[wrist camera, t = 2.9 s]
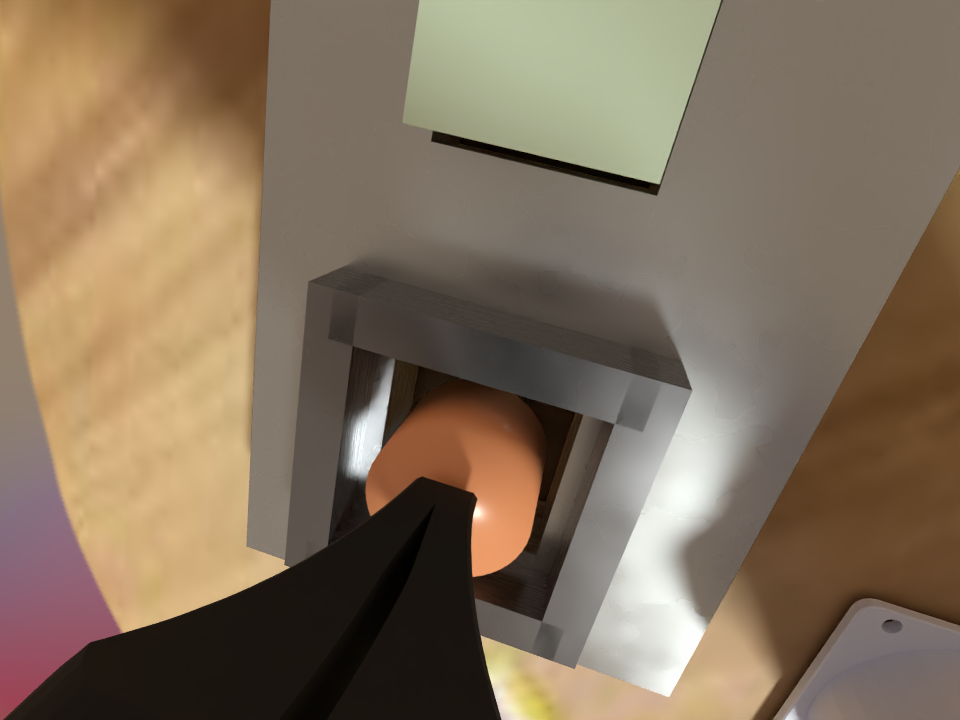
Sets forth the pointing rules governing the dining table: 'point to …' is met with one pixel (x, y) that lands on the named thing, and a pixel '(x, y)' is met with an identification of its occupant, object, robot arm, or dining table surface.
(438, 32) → the pale green block
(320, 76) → the control box
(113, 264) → the dining table surface
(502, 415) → the button
